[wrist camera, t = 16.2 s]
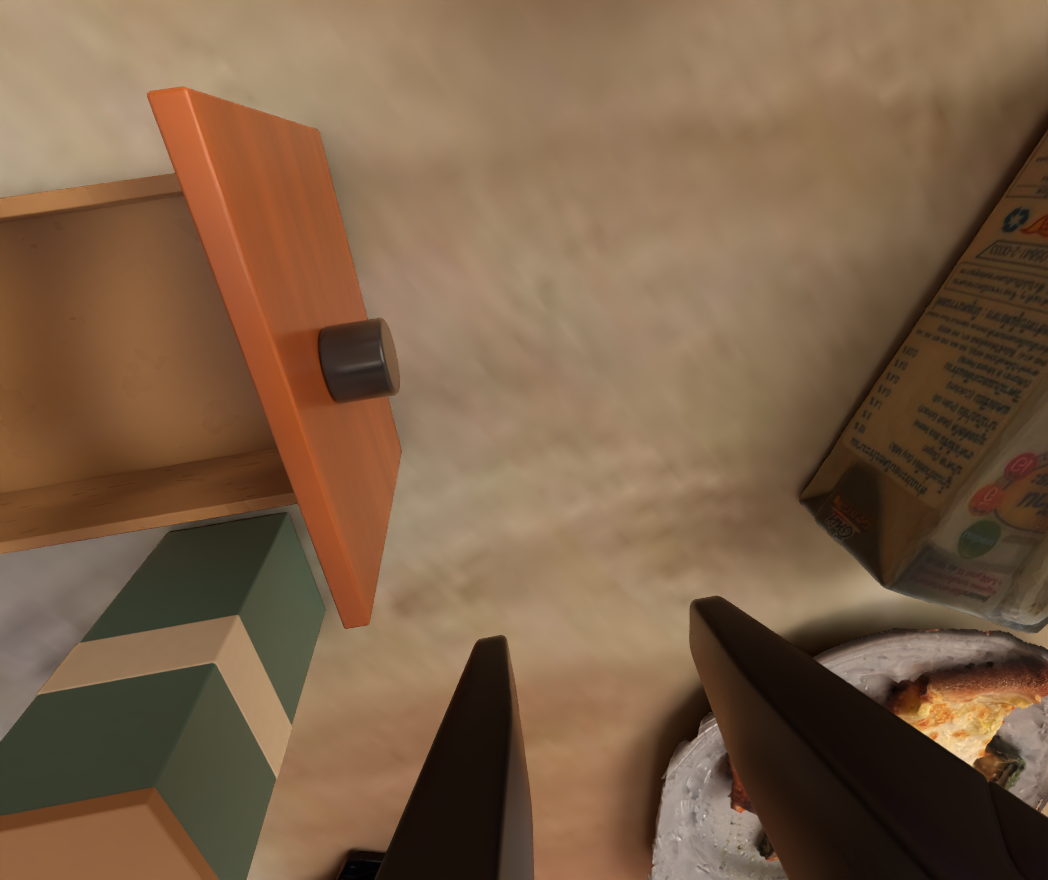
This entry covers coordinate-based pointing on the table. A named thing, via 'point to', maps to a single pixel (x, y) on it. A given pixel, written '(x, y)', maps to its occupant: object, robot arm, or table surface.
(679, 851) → the food plate
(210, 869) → the long rectangular block
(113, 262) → the drawer
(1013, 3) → the table surface
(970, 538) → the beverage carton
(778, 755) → the robot arm
